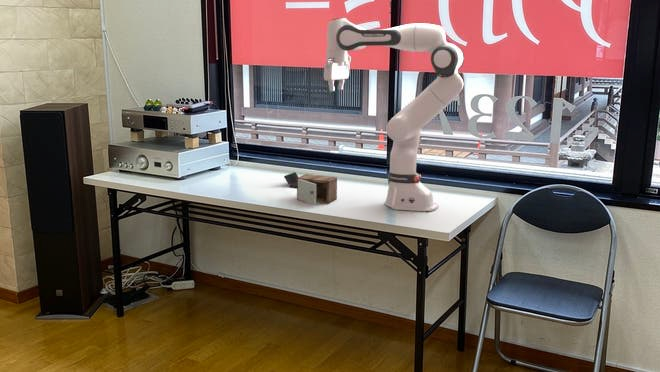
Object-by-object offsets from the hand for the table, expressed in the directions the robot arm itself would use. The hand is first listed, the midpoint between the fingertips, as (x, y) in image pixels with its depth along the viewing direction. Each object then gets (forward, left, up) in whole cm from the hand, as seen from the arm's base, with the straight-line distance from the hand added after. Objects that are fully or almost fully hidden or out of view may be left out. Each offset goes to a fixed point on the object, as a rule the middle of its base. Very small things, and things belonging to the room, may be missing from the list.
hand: (336, 90), depth 273 cm
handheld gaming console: (+25, -14, -48) cm, 56 cm away
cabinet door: (+7, +16, -46) cm, 50 cm away
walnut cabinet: (+5, +8, -47) cm, 48 cm away
